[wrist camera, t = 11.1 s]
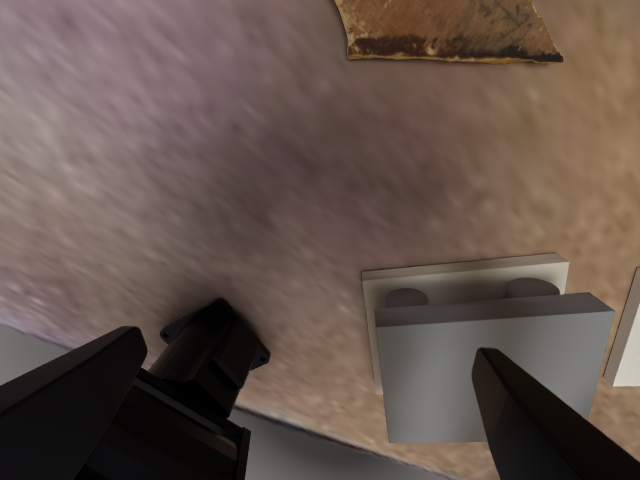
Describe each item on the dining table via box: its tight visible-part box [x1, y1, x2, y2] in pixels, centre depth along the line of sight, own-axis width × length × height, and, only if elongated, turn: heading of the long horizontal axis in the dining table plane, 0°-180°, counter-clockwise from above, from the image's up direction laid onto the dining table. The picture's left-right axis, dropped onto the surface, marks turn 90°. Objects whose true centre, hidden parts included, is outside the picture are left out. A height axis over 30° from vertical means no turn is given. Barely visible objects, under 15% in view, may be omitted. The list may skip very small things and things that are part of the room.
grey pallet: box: [362, 253, 615, 443], centre depth 19 cm, size 12×10×5 cm
